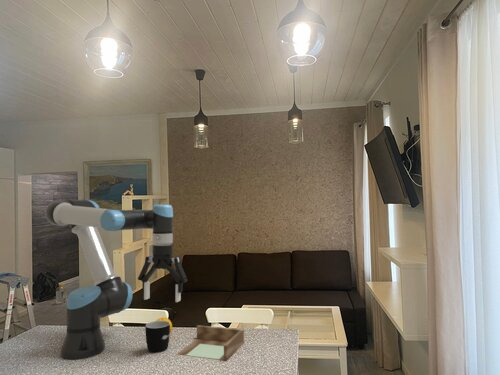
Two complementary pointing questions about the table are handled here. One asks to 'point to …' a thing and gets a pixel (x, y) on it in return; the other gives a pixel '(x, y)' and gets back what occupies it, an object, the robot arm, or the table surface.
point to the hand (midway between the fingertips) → (162, 300)
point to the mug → (157, 336)
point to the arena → (217, 340)
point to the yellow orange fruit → (166, 320)
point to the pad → (207, 351)
